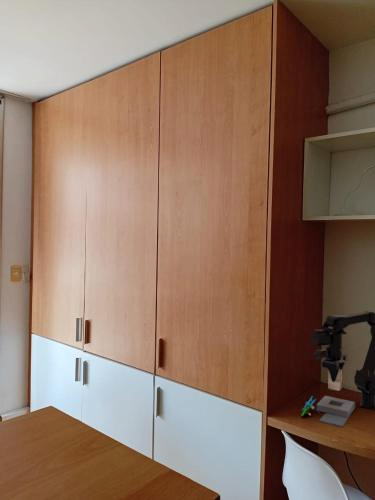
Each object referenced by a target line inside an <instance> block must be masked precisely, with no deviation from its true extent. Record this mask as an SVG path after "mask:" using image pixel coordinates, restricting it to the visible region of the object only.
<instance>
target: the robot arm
mask: <svg viewBox="0 0 375 500" xmlns="http://www.w3.org/2000/svg"><path fill="white" fill-rule="evenodd" d="M361 323H367V324H368V325H369V327H370V330H369V331H370V335H371V339H370V342H369V346H368V350H367V352H366V355H365V358H364V363H363V365H362V368H360V369H356V371H355V375H354V377H353V379H354V385H355V386H356V389H357V390H358V391H360V393H361V402H360V403H359V407H361V408H365V409H370V410H375V312H374V311H369V310H365V311H363V312H357V313H351V314H346V315H340V314H329V315H327V317H326V319H325V321H324V323H323V324H322V326H321V328H320V329H313V333H312V334H311V337H310V338H311V339H310V341H311V343H312V345H313V346H315V347H319V346H321V347H322V346H326V347H325V348H324V349H320V348H319V349H316V350H315V352H314V353H313V356H314V357H315V359H316V360H320V359H324V358H325V359H324V360H323V361H321V368H324V369H326V370H327V371H328V370H329V372H330V376H331V379H332V382H335V380H336V378H337V375H338V372H339V370H342V371H343V369H344V367H345V365H346V362H348V359H349V356H348V355H347V354H346V353H343V350H344V346H343V335H347V332H346V331H345V330H344V329H347V327H348V326H351V325H356V324H361ZM343 360H344V361H343Z"/></svg>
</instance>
